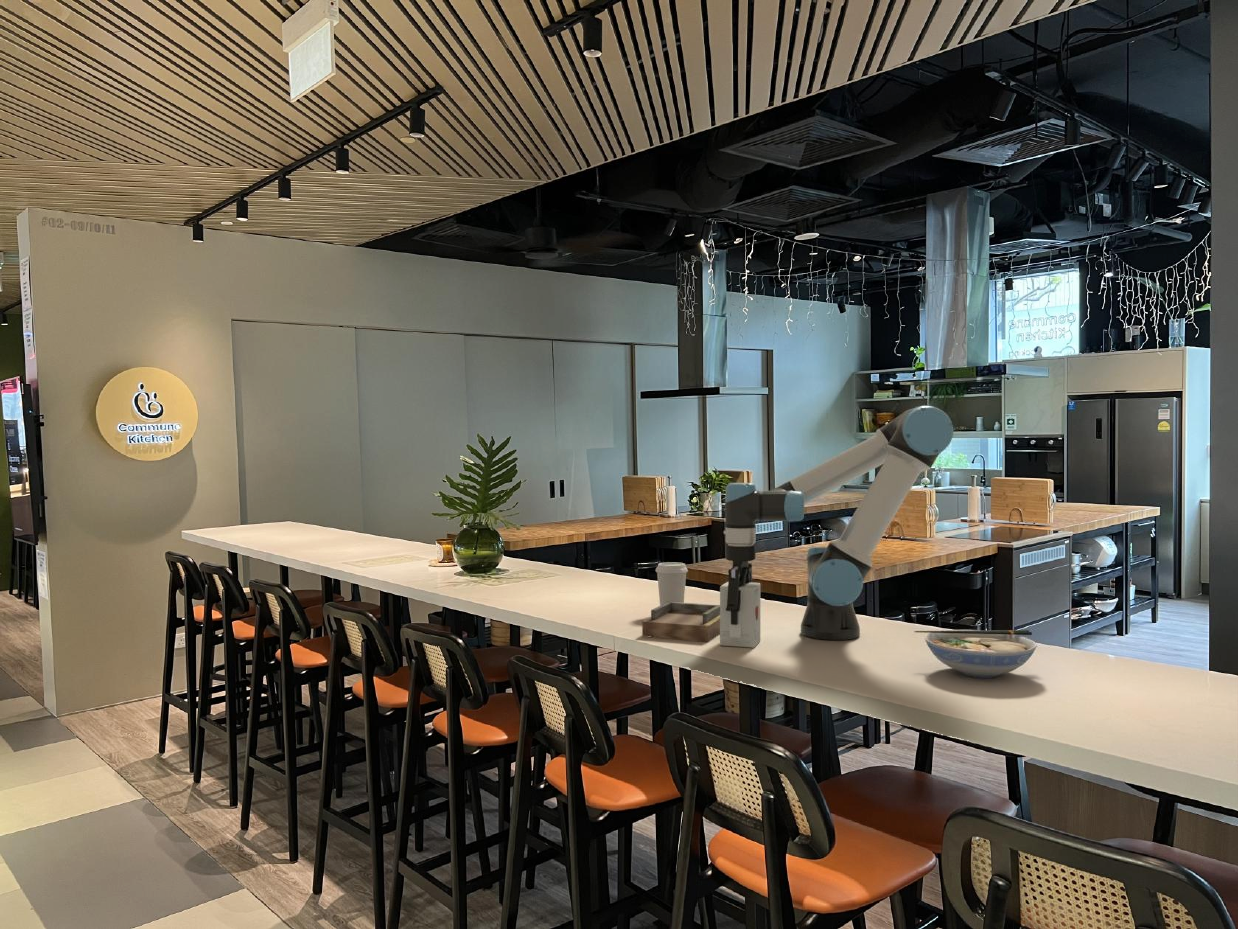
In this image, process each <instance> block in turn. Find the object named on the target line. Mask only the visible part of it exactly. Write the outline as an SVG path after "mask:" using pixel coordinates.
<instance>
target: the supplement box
mask: <svg viewBox="0 0 1238 929" xmlns="http://www.w3.org/2000/svg"><path fill="white" fill-rule="evenodd" d="M739 590H741V603H740V610H739V611H741V638H734V637H730V611H726V608H727V597H728V581H727V582H725V583H723V584H722V585H721V586H720V587H719V605H720V634H719V645H720V646H724V647H738V648H739V647H740V648H752V649H754V648H756V646H758V644H759V643H760V642H761V583H760V582H752V583H745V585H744V586H742V587H739Z"/></svg>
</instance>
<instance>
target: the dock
mask: <svg viewBox="0 0 1238 929" xmlns="http://www.w3.org/2000/svg"><path fill="white" fill-rule="evenodd" d="M641 625H642V626H641V627H642V628H641V630H642V631H641V634H642V636H651V637H650V638H653V637H657V638H656V639H668V640H678V641H679V640H680V641H690V642H703V643H704V642H706V643H709V642H711V641H712V640H714V639H716V636H717V637H719V636H720V604H705V603H691V602H684V603H679V602H667V603H665V604H663V605H661V606H660V605H658V606H657V607H655V608H653V609H651V610H650V617H648V618H646V619H644V620H642V622H641ZM642 636H641V637H642Z"/></svg>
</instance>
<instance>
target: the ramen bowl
mask: <svg viewBox="0 0 1238 929" xmlns="http://www.w3.org/2000/svg"><path fill="white" fill-rule="evenodd" d="M914 633H924V634H925V633H927V634H925V635H924V640H925V642H926V645H927V647H928V648H929V650H930V652H932V655H933V656H935V658H936V659H937V660H938V661H940V662H941V663H943V664H944V665H946V666H947V667H950V668H951V669H954V670H955V671H958V672H959V673H961V674H963V675H964V674H965V676H968V677H972V676H974V677H973V678H980V677H981V678H984V679H986V678H987V679H988V678H989V679H992V678H996V677H998V676H999V675H1003V674H1007V673H1010V672H1013V671H1015V670H1017V669H1018V668H1021V666H1023V665H1025V663H1026V662H1027V661H1029V660H1030V658H1031V657H1032V656H1033V654H1034V652H1035V651H1036V649H1037V647H1038V645H1037V643H1036V641H1034V640H1032V639H1030V638H1028V637H1026V636H1032V635H1033V633H1032V631H1030V630H1029V629H1020V630H1019V629H1018V630H1016V629H1014V630H1013V629H1011V630H1007V629H1006V630H1005V629H1004V630H1002V629H1001V630H999V629H998V630H997V629H996V630H995V629H994V630H982V629H981V630H979V629H978V630H977V629H944V630H919V631H918V630H914ZM1024 636H1025V637H1024ZM981 678H980V679H981Z"/></svg>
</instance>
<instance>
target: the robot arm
mask: <svg viewBox="0 0 1238 929" xmlns="http://www.w3.org/2000/svg"><path fill="white" fill-rule="evenodd" d="M952 422H953V421H952V420H951V418H950V417H949V415H948V414H947V413H946V412H945V411H943V410H942V409H940V408H938V407H936V406H932V405H920V406H916V407H913V408H910V409H907V410H905V411H904V412H902V413H901V414H900V415H898V416H897V417H895V418H894V419H892V420H891V421H890V422H888V423H886V424H884V425H883V426H881V427H879V428H878V429H876V431H875V434H874V435H873V436H871V437H869V438H867V439H865V440H863V441H862V442H861V441H860V443H857V444H855V445H854V446H852V447H850V448H848V449H846V450H845V451H843V452H841V453H839V454H837V455H835V456H833V457H832V458H830V459H828V460H826V461H824V462H822V463H820V464H818V465H817V466H814V467H813V468H810V469H809V470H807V471H805V472H803V473H801V474H799V475H797V476H796V477H795V476H794V478H792V479H789V481H786V482H785V483H783V484H780V485H779V486H777V487H772V488H771V489H769V490H765V491H764V490H757V489H756V484H755V483H753V482H752V483H751V482H730V483H729V484H727V485H726V487H725V498H724V511H725V514H724V516H725V530H723V534H724V535H725V543H726V545H725V548H724V549H725V552H724V553H725V560H726V561H732V565H731V566H732V567H731V568H729V569H728V571H727V572H728V581H727V582H728V597H727V608H726V611H730V637H734V638H741V611H739V610H740V603H741V590H739V587H742V586H744V585H745V583H753V572H752V571H753V564H752V563H750V562H753V561H755V560H756V557H757V556H756V551H757V550H756V549H757V548H756V546H755V544H756V543H757V542H756V540H757V536H756V522H757V521H758V522H762V521H764V522H765V521H766V522H767V521H768V522H791V523H792V522H799V521H802V520H803V519H804V518H805V506H806V505H807V504H809V503H811V502H813V501H815V500H818V499H819V498H821V497H823V496H825V495H827V494H829V493H831V492H832V491H835V490H836V489H838V488H840V487H843V486H844V485H846V484H848V483H850V482H852V481H854V480H855V479H858V478H859V477H861V476H863V475H864V474H866V473H869V472H870V471H873V470H875V469H876V468H878V467H880V466H881V467H880V468H879V470H878V472H877V474H876V476H875V477H874V479H873V481H872V483H871V485H870V486H869V487H868V489H867V491H866V492H865V495H864V496H863V497H862V500H861V501H860V503H859V504H858V506H857V508H856V509H855V511H854V512H853V515H852V517H851V518H850V520H849V521H848V524H846V526H845V528H844V530H843V532H842V534H841V535H840V537H839V538H837V539H835V540H831V541H830V542H829V543H828V545H827V546H819V547H818V546H815V547H814V546H813V547H810V548H808V550H807V556H806V561H807V605H806V608H805V612H804V614H803V618H802V621H801V623H800V634H801V635H803V636H804V637H807V638H811V639H817V640H825V641H826V640H827V641H828V640H832V641H842V640H843V641H846V640H852V639H857V638H859V637H860V636H861V633H860V632H861V627H860V624H859V621H858V617H857V615H856V610H855V609H854V602H855V601H856V600H857V599H858V597H859V596H860V595H861V592H862V590H863V588H864V586H863V585H864V580H865V579H866V578H867V576H868V575H869V574H868V573H869V572H870V570H871V569H872V567H873V563H872V559H871V556H872V554H873V553H874V551H875V550H876V548H877V546H878V545H879V543H880V541H881V540H882V538H883V537H884V535H885V533H886V531H887V529H888V528H889V527H890V524H891V523H892V521H893V520H894V518H895V516H896V514H898V511H899V509H900V508H901V506H902V504H903V503H904V501H905V499H906V498H907V496H908V495H909V493H910V491H911V489H912V488H913V486H914V484H915V482H916V481H917V479H918V477H919V475H920V474H921V473H922V472H925V471H930V470H931V468H932V467H933V465H935V464H934V463H935V462H936V461H937V458H938V457H939V456H940V454H941V453H942V452H944V451H945V450H946V449H947V448H948V447H949V445H950V443H951V442H952V440H953V437H954V425H953V423H952Z"/></svg>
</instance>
